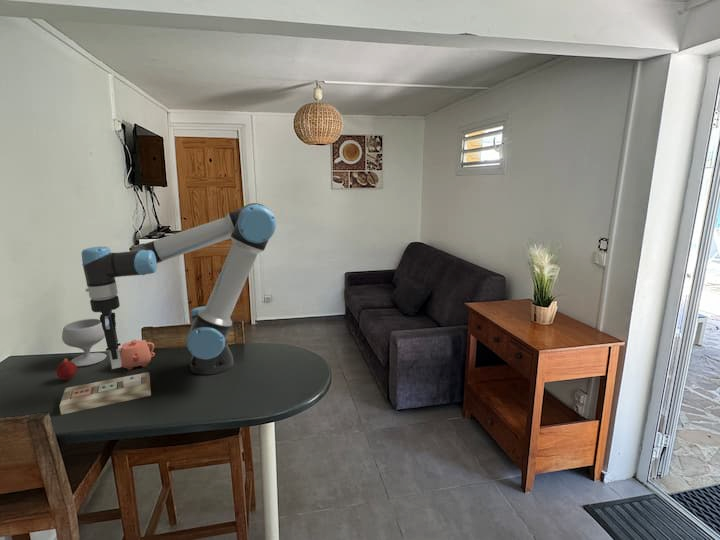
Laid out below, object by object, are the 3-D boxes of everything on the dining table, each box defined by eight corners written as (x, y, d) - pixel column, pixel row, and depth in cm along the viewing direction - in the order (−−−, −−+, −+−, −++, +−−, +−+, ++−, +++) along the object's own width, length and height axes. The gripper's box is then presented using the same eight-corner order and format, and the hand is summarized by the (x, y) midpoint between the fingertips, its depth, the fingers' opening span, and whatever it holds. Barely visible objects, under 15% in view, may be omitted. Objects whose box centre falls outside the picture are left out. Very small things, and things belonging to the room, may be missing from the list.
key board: (149, 379, 143) (149, 372, 143) (150, 395, 133) (149, 387, 132) (67, 396, 132) (65, 388, 132) (61, 414, 122) (59, 405, 121)
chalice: (62, 371, 150) (55, 332, 147) (71, 356, 162) (65, 320, 159) (106, 364, 155) (101, 327, 152) (111, 350, 168) (106, 316, 165)
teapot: (137, 374, 148) (134, 349, 146) (112, 369, 151) (108, 345, 149) (161, 360, 159) (159, 337, 156) (137, 356, 162) (134, 333, 160)
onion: (67, 385, 140) (64, 363, 138) (53, 383, 141) (50, 361, 139) (82, 377, 145) (79, 356, 144) (68, 375, 146) (65, 354, 145)
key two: (118, 390, 136) (116, 381, 135) (117, 396, 132) (116, 387, 131) (100, 393, 134) (99, 384, 133) (99, 400, 129) (97, 391, 129)
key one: (141, 381, 139) (140, 373, 138) (141, 388, 135) (140, 379, 134) (124, 385, 137) (123, 376, 136) (124, 391, 132) (123, 382, 132)
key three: (93, 395, 133) (91, 386, 132) (91, 402, 128) (90, 393, 128) (74, 398, 130) (73, 389, 130) (72, 406, 126) (71, 396, 125)
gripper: (91, 294, 130) (104, 362, 136) (87, 304, 119) (102, 378, 125) (118, 290, 134) (130, 357, 139) (117, 300, 123) (130, 372, 128)
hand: (117, 367), depth 132 cm, fingers closed
